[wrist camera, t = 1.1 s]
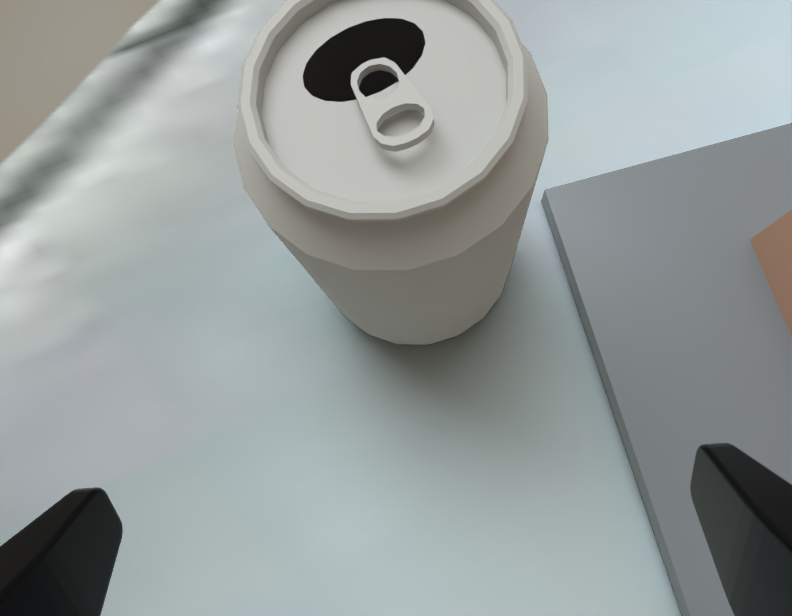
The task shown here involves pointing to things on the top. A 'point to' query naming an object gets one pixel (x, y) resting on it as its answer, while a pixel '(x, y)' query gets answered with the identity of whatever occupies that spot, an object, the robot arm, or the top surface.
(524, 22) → the top surface
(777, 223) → the block
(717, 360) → the baseplate
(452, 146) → the can
